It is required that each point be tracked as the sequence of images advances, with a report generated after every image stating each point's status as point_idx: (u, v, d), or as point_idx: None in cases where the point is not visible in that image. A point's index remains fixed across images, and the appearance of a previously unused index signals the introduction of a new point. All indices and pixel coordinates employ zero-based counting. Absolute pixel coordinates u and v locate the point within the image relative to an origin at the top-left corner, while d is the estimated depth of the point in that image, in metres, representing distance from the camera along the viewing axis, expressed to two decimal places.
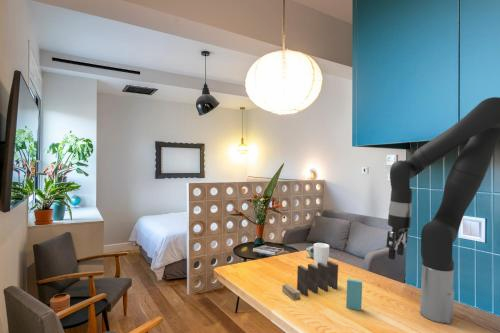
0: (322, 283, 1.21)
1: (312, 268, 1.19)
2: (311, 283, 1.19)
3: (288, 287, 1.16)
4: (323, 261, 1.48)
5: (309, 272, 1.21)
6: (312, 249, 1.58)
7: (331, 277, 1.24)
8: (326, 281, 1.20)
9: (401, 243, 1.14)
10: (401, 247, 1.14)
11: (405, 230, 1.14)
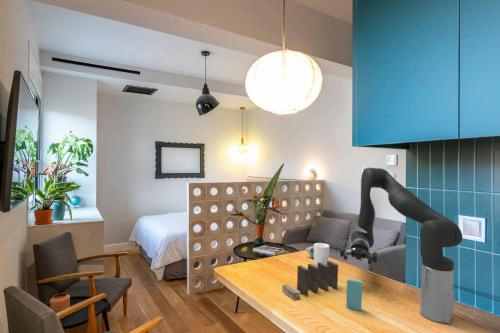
0: (322, 283, 1.21)
1: (312, 268, 1.19)
2: (311, 283, 1.19)
3: (288, 287, 1.16)
4: (323, 261, 1.48)
5: (309, 272, 1.21)
6: (312, 249, 1.58)
7: (331, 277, 1.24)
8: (326, 281, 1.20)
9: None
10: (368, 258, 1.18)
11: (373, 253, 1.23)
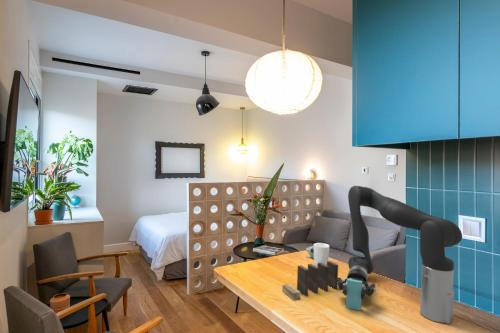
0: (322, 283, 1.21)
1: (312, 268, 1.19)
2: (311, 283, 1.19)
3: (288, 287, 1.16)
4: (323, 261, 1.48)
5: (309, 272, 1.21)
6: (312, 249, 1.58)
7: (331, 277, 1.24)
8: (326, 281, 1.20)
9: None
10: (361, 291, 1.06)
11: None
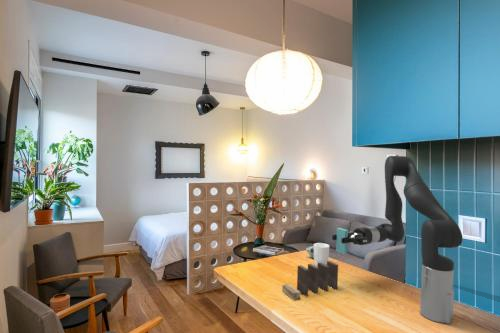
0: (322, 283, 1.21)
1: (312, 268, 1.19)
2: (311, 283, 1.19)
3: (288, 287, 1.16)
4: (323, 261, 1.48)
5: (309, 272, 1.21)
6: (312, 249, 1.58)
7: (331, 277, 1.24)
8: (326, 281, 1.20)
9: None
10: None
11: None
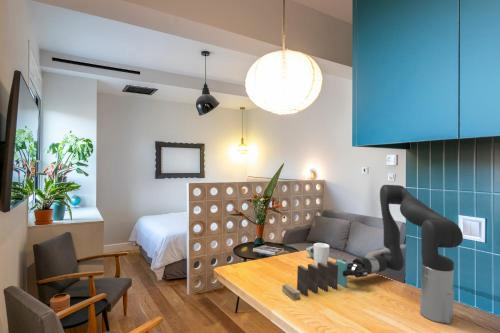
0: (322, 283, 1.21)
1: (312, 268, 1.19)
2: (311, 283, 1.19)
3: (288, 287, 1.16)
4: (323, 261, 1.48)
5: (309, 272, 1.21)
6: (312, 249, 1.58)
7: (331, 277, 1.24)
8: (326, 281, 1.20)
9: None
10: None
11: None
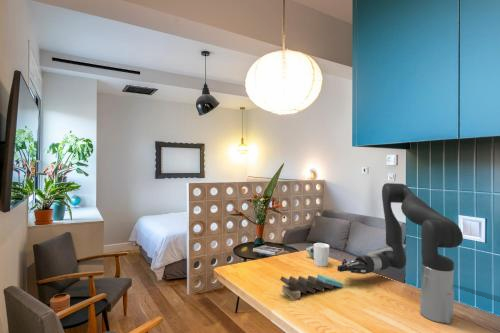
0: None
1: None
2: None
3: (288, 287, 1.16)
4: (323, 261, 1.48)
5: None
6: (312, 249, 1.58)
7: None
8: (317, 287, 1.18)
9: None
10: None
11: None
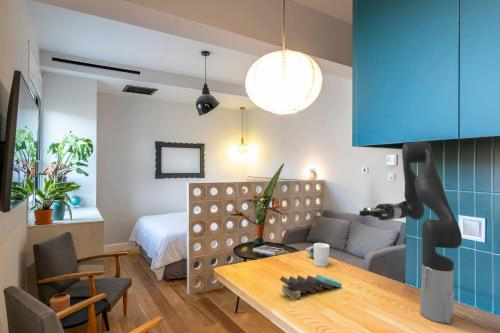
0: None
1: None
2: None
3: (288, 287, 1.16)
4: (323, 261, 1.48)
5: None
6: (312, 249, 1.58)
7: None
8: (315, 286, 1.18)
9: None
10: None
11: None
